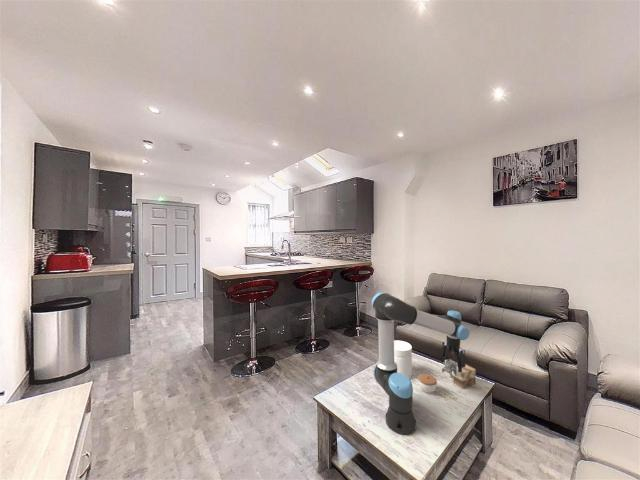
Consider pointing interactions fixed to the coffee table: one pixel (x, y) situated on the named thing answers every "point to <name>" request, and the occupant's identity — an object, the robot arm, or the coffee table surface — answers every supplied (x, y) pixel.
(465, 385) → the tower base
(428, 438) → the coffee table surface
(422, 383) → the lidded jar
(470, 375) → the light wooden block
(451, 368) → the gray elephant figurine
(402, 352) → the canister
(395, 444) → the coffee table surface
